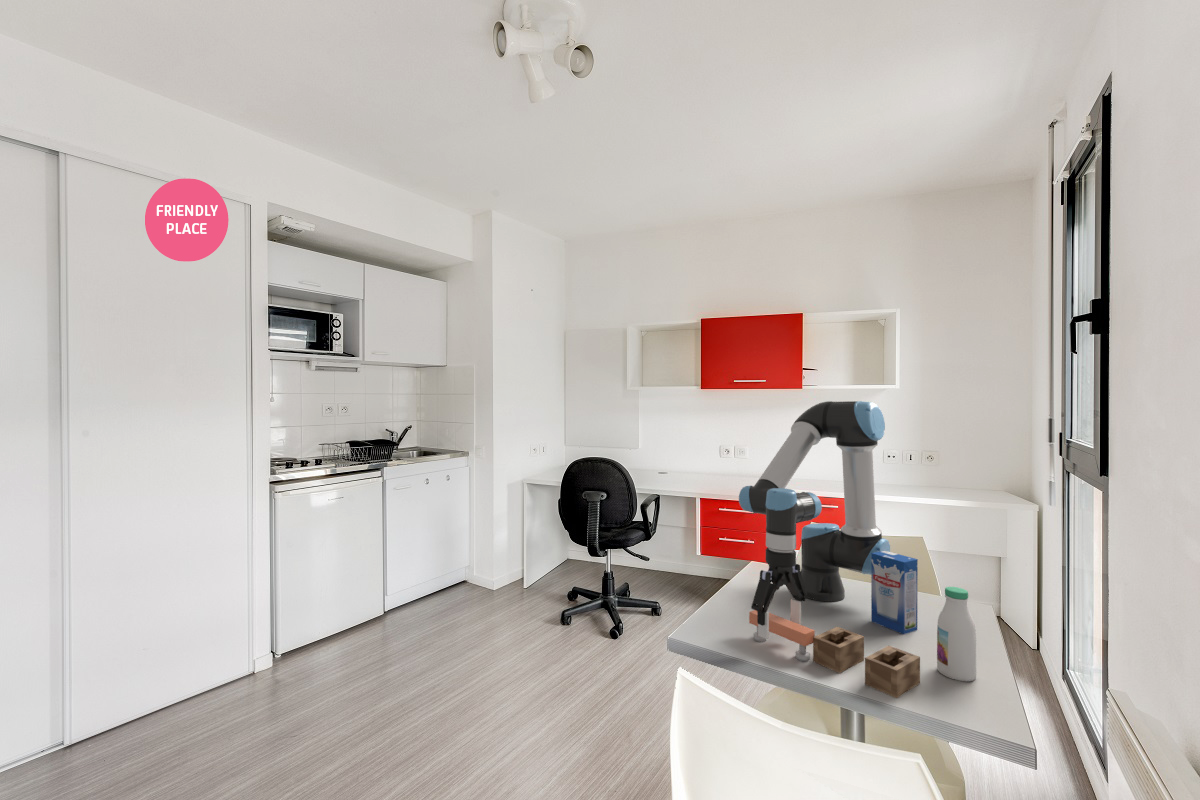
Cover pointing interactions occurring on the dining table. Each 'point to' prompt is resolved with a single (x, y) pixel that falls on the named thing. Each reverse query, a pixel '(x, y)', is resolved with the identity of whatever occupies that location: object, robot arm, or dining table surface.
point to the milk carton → (894, 591)
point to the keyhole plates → (868, 661)
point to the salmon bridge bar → (786, 633)
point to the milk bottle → (956, 637)
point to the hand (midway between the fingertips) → (779, 630)
